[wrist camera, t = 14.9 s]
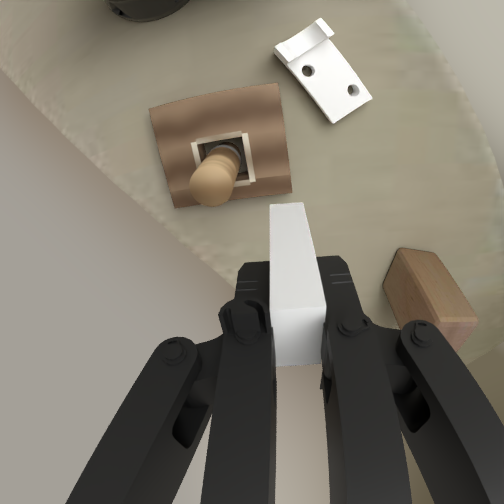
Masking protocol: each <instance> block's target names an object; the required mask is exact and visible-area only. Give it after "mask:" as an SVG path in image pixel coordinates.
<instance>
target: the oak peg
mask: <svg viewBox="0 0 504 504" xmlns="http://www.w3.org/2000/svg"><path fill="white" fill-rule="evenodd" d="M240 167H241V152H240V149H239V148H238V147H237V146H236V145H235V144H234V143H231V142H223V143H220V144H219V145H218V146H215V147H214V148H212V149H211V150H210V151H209V153H208V154H207V156H206V158H205V159H204V160H203V161H202V163H201V164H200V165H199V167H198V168H197V169H196V171H195V172H194V173H193V175H192V176H191V179H190V182H189V188H190V192H191V194H192V196H193V197H194V199H195V200H196V201H197V202H199V203H200V204H202V205H205V206H209V207H214V206H219V205H222V204H223V203H225V202H226V201H227V200H228V199H229V198H230V196H231V194H232V190H233V187H234V184H235V181H236V177H237V174H238V171H239V169H240Z"/></svg>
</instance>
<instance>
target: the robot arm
mask: <svg viewBox="0 0 504 504" xmlns="http://www.w3.org/2000/svg"><path fill="white" fill-rule="evenodd" d="M104 1H105V2H106V4H107V5H108V7H109V8H110V9H111V10H112V11H113V12H114V13H115V14H116V15H118V16H120V17H122V18H125V19H128V20H131V21H137V22H146V21H153V20H157V19H160V18H163V17H166V16H168V15H170V14H172V13H174V12H175V11H177V10H178V9H180V8H181V7H183V6H184V5H185V4H186V3H187V2H188V1H189V0H104ZM218 316H219V320H220V323H221V327H222V330H223V334H222V335H221V336H219V337H217V338H215V339H213V340H210V341H207V342H203V343H199V344H194V343H193V342H192V341H191V340H190V339H187V338H184V337H173V338H170V339H167V340H165V341H163V342H162V343H160V344H159V346H158V347H157V348H156V349H155V350H154V352H153V354H152V355H151V357H150V358H149V360H148V362H147V363H146V365H145V366H144V368H143V370H142V372H141V373H140V375H139V376H138V378H137V380H136V381H135V383H134V384H133V386H132V388H131V390H130V391H129V393H128V395H127V396H126V398H125V399H124V401H123V403H122V404H121V406H120V408H119V409H118V411H117V413H116V415H115V416H114V418H113V420H112V422H111V423H110V425H109V426H108V428H107V430H106V432H105V433H104V435H103V437H102V439H101V440H100V442H99V444H98V446H97V447H96V449H95V451H94V453H93V454H92V456H91V458H90V460H89V461H88V463H87V465H86V467H85V469H84V471H83V472H82V474H81V476H80V478H79V480H78V481H77V483H76V485H75V487H74V489H73V491H72V492H71V494H70V496H69V498H68V500H67V502H66V504H172V502H173V500H174V498H175V496H176V494H177V491H178V489H179V487H180V485H181V483H182V480H183V478H184V476H185V474H186V472H187V469H188V467H189V465H190V463H191V461H192V458H193V456H194V454H195V451H196V449H197V447H198V445H199V442H200V440H201V438H202V435H203V433H204V431H205V429H206V426H207V424H208V422H209V419H210V417H211V415H212V420H211V427H210V434H209V442H208V449H207V456H206V464H205V472H204V479H203V487H202V495H201V503H200V504H275V477H276V409H277V404H276V403H277V401H276V400H277V399H276V398H277V392H276V391H277V387H276V386H277V384H276V383H277V381H276V367H278V366H294V365H295V366H296V365H310V364H320V363H321V359H322V367H323V372H322V379H321V384H320V389H323V397H324V409H325V420H326V432H327V447H328V463H329V482H330V483H329V484H330V504H412V499H411V490H410V482H409V475H408V468H407V462H406V456H405V450H404V444H403V439H402V434H401V431H402V433H403V435H404V437H405V439H406V441H407V444H408V446H409V448H410V450H411V452H412V454H413V456H414V458H415V460H416V463H417V465H418V467H419V469H420V471H421V474H422V476H423V478H424V480H425V482H426V485H427V487H428V489H429V492H430V494H431V496H432V498H433V501H434V503H435V504H504V426H503V424H502V423H501V421H500V419H499V417H498V416H497V414H496V412H495V411H494V409H493V407H492V406H491V404H490V403H489V401H488V399H487V398H486V396H485V394H484V393H483V391H482V390H481V388H480V387H479V385H478V384H477V382H476V381H475V379H474V378H473V376H472V375H471V373H470V372H469V370H468V369H467V367H466V366H465V364H464V363H463V362H462V360H461V359H460V357H459V356H458V355H457V353H456V352H455V350H454V349H453V348H452V346H451V345H450V344H449V342H448V341H447V340H446V338H445V337H444V336H443V334H442V333H441V332H440V330H439V329H438V328H437V327H436V326H435V325H433V324H432V323H430V322H428V321H425V320H413V321H410V322H408V323H407V324H405V325H404V327H403V328H402V330H397V329H390V328H384V327H380V326H378V325H376V324H373V323H372V321H371V320H370V318H369V317H367V316H366V315H365V314H364V313H363V311H362V308H361V304H360V301H359V298H358V295H357V292H356V289H355V286H354V283H353V280H352V277H351V275H350V271H349V268H348V265H347V263H346V262H345V261H344V260H343V259H342V258H341V257H340V256H339V255H338V256H324V257H316V255H315V250H314V246H313V242H312V237H311V233H310V229H309V225H308V221H307V217H306V213H305V209H304V205H303V202H301V203H285V204H271V205H270V261H263V262H247V263H244V265H243V266H242V267H241V269H240V270H239V271H238V277H237V284H236V291H235V298H234V299H233V300H231V301H229V302H227V303H226V304H225V305H224V306H223V307H222V308H221V309H220V312H219V314H218Z"/></svg>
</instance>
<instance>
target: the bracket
mask: <svg viewBox="0 0 504 504" xmlns="http://www.w3.org/2000/svg"><path fill="white" fill-rule="evenodd" d="M333 34H335V33H334V32H333V31H332V30H331V29H330V27H329V26H328V25H327V24H326V23H325V22H324V21H323V20H322V18H320V19H318V20H316V21H315V22H314V23H312V24H311V25H310V26H308V27H307V28H306V29H304V30H303V31H301V32H300V33H298V34H297V35H295V36H293V37H292V38H290V39H288V40H287V41H285V42H282V43H279V44H278V45H276V46H275V48H274V54H275V55H276V56H277V57H278V58H279V59H280V60H281V61H282V62H283V64H284V65H285V66H286V67H287V68H288V69H289V70H290V72H291V73H292V74H293V75H294V76H295V78H296V79H297V80H298V81H299V82H300V84H301V85H302V86H303V87H304V89H305V90H306V91H307V92H308V94H309V95H310V96H311V97H312V99H313V100H314V101H315V102H316V104H317V105H318V106H319V108H320V109H321V110H322V112H323V113H324V114H325V116H326V117H327V118H328V120H329V121H330V122H331V123H333V124H334V123H335V122H337V121H338V120H340V119H341V118H343V117H344V116H346V115H347V114H349V113H350V112H352V111H353V110H355V109H356V108H358V107H359V106H361V105H362V104H364V103H366V102H367V101H369V100H370V99H372V97H371V95H370V94H369V92H368V91H367V89H366V88H365V86H364V85H363V83H362V82H361V80H360V79H359V78H358V76H357V75H356V73H355V72H354V71H353V69H352V68H351V67H350V65H349V64H348V63H347V61H346V60H345V59H344V57H343V56H342V55H341V53H340V52H339V51H338V50H337V48H336V47H335V46H334V45H333V43H332V42H331V41H330V40H329V39H328V38H329V37H330V36H332V35H333ZM303 66H308V67H310V68H311V70H312V74H311V76H309V77H307V76H304V75H303V73H302V67H303ZM349 85H351V86H352V88H353V92H352V94H351V95H349V93H348V91H347V89H348V86H349Z"/></svg>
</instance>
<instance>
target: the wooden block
mask: <svg viewBox="0 0 504 504" xmlns="http://www.w3.org/2000/svg"><path fill="white" fill-rule="evenodd" d="M383 289H384V291H385V293H386V296H387V298H388V300H389V303H390V305H391V308H392V310H393V313H394V315H395V318H396V320H397V323H398V325H399V328H400V330H402V328H403V327H404V325H405V324H407V323H408V322H410V321H413V320H425V321H428V322H430V323H432V324H433V325H435V326H436V327H437V328H438V329H439V330H440V332H441V333H442V334H443V336H444V337H445V338H446V340H447V341H448V342H449V344H450V345H451V346H452V348H453V349H454V350H455V352H457V351H458V350H459V349H460V347H461V346H462V345H463V344H464V342H465V341H466V340H467V338H468V337H469V336H470V334H471V333H472V332H473V330H474V329H475V328H476V326H477V325H478V322H479V320H478V317H477V316H476V314H475V312H474V311H473V309H472V307H471V306H470V304H469V302H468V301H467V299H466V297H465V296H464V294H463V293H462V291H461V290H460V288H459V287H458V285H457V284H456V282H455V281H454V279H453V278H452V276H451V275H450V273H449V272H448V270H447V269H446V267H445V266H444V265H443V263H442V262H441V260H440V259H439V258H438V256H437V255H436V254H435V253H432V252H425V251H419V250H413V249H406V248H399V249H398V250H397V253H396V255H395V258H394V260H393V262H392V265H391V267H390V269H389V272H388V274H387V276H386V278H385V281H384V283H383Z"/></svg>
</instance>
